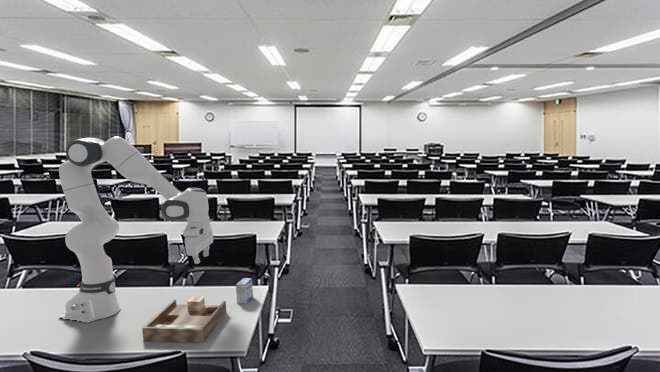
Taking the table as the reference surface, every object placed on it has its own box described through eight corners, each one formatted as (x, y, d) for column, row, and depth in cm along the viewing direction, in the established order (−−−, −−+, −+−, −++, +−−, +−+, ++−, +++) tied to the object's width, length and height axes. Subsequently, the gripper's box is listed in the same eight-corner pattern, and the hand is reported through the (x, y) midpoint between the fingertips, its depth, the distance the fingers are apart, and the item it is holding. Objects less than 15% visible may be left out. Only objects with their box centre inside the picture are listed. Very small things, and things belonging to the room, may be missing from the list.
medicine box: (246, 304, 187) (245, 284, 186) (236, 303, 188) (235, 284, 187) (253, 296, 195) (252, 278, 193) (243, 296, 195) (242, 277, 194)
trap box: (143, 341, 156) (142, 327, 156) (174, 311, 181) (173, 299, 180) (202, 343, 154) (202, 329, 153) (226, 312, 179) (225, 300, 178)
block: (187, 311, 174) (187, 301, 173) (192, 305, 179) (192, 296, 178) (200, 311, 173) (199, 301, 173) (204, 306, 178) (204, 296, 178)
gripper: (201, 221, 190) (204, 252, 192) (181, 233, 170) (184, 267, 172) (215, 221, 190) (217, 252, 191) (196, 233, 169) (199, 267, 171)
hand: (201, 259), depth 182 cm, fingers open, 8 cm apart
